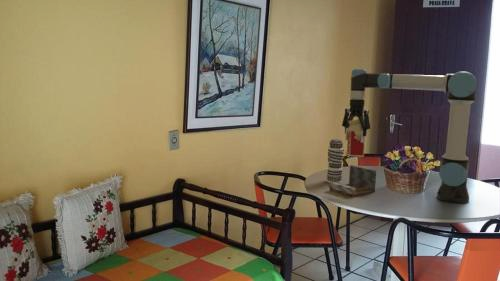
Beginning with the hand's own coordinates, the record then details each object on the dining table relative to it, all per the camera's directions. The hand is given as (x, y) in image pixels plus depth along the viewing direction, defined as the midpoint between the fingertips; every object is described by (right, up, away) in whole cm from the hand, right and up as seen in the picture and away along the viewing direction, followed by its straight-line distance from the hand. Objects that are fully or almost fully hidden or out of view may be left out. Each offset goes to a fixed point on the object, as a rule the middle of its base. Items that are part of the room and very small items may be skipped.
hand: (354, 141), depth 230 cm
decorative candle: (-6, -24, +25) cm, 35 cm away
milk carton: (0, -8, +1) cm, 8 cm away
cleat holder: (-1, -27, +4) cm, 27 cm away
